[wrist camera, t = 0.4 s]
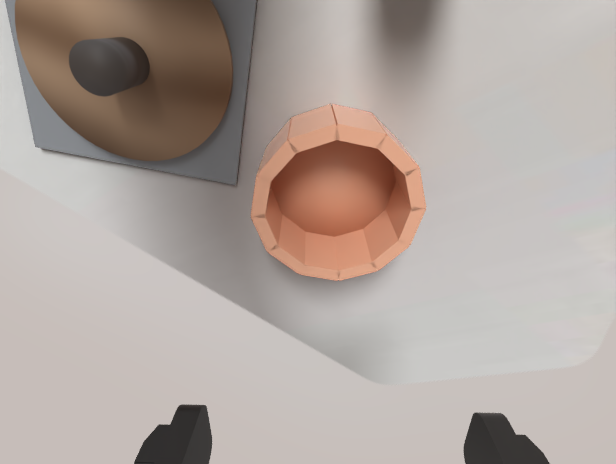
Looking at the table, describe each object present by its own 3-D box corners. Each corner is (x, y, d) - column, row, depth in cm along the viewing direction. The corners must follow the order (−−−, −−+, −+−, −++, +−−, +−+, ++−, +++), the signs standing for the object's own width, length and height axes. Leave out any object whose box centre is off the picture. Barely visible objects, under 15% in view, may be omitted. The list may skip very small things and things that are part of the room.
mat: (-15, -124, 20) (-22, -127, 19) (262, -51, 21) (261, -52, 21) (39, 145, 28) (35, 147, 27) (236, 182, 30) (235, 185, 29)
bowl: (274, 90, 26) (265, 107, 21) (425, 124, 27) (452, 148, 22) (254, 226, 32) (243, 265, 27) (378, 248, 33) (390, 289, 28)
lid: (2, -99, 20) (-82, -132, 16) (243, -36, 21) (227, -51, 17) (46, 137, 27) (-3, 158, 23) (225, 171, 29) (210, 198, 24)
